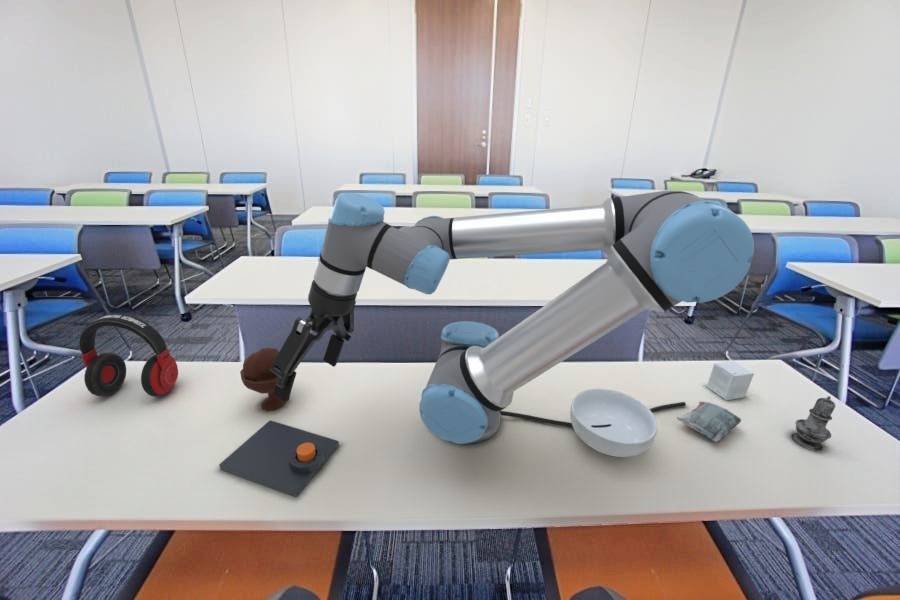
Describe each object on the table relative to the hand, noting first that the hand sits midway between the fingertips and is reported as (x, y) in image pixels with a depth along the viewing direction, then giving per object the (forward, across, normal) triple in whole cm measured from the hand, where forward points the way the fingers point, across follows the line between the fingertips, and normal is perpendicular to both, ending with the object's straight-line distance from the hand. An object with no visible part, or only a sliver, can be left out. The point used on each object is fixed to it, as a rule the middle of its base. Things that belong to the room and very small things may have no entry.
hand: (307, 378), depth 75 cm
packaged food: (-15, -38, +76) cm, 87 cm away
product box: (-19, -55, +83) cm, 101 cm away
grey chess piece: (-22, -41, +95) cm, 106 cm away
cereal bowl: (-7, -25, +57) cm, 63 cm away
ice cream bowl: (+20, -7, -10) cm, 23 cm away
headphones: (+31, +2, -40) cm, 51 cm away
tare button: (+11, +5, +7) cm, 14 cm away
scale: (+16, +5, +3) cm, 17 cm away
